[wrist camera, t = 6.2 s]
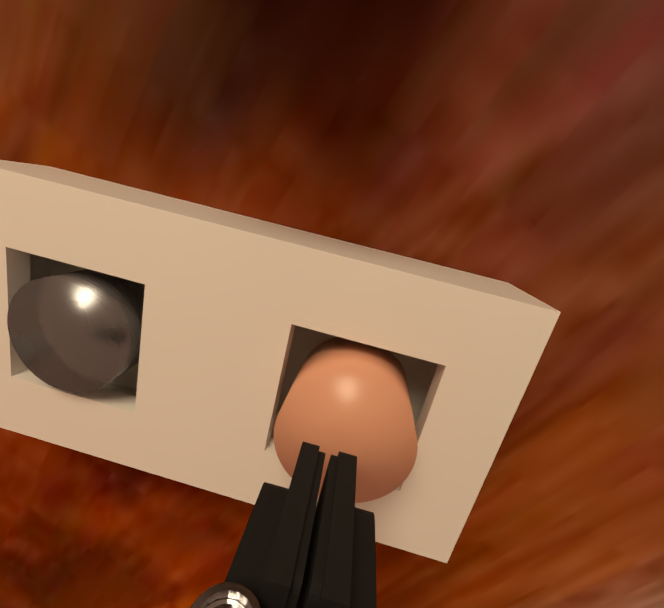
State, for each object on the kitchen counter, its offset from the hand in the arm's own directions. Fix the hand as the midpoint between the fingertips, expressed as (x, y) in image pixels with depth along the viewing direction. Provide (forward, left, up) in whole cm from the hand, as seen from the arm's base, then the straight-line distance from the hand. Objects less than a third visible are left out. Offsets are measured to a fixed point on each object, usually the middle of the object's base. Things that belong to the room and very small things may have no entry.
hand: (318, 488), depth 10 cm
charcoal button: (+11, 0, -7) cm, 14 cm away
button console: (+5, 0, -9) cm, 10 cm away
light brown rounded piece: (-1, 0, -6) cm, 6 cm away
